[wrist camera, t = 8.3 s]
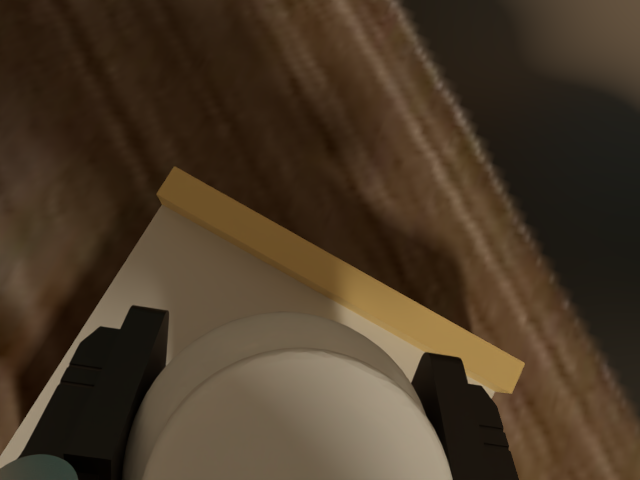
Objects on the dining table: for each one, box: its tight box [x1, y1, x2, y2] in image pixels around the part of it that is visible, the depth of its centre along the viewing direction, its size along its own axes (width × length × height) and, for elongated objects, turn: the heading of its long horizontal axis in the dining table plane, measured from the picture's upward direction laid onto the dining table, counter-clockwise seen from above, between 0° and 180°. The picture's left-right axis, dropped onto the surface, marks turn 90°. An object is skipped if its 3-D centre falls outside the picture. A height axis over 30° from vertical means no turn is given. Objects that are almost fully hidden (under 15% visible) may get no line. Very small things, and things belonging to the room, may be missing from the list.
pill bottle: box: [122, 312, 453, 480], centre depth 12 cm, size 5×5×10 cm
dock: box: [0, 166, 525, 468], centre depth 18 cm, size 12×10×4 cm
